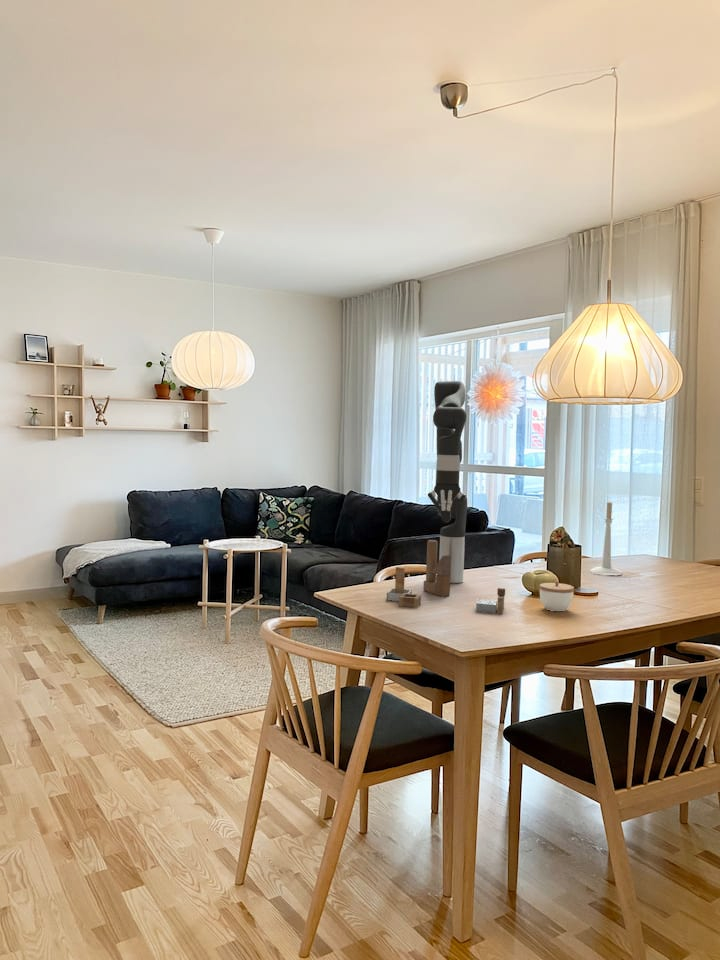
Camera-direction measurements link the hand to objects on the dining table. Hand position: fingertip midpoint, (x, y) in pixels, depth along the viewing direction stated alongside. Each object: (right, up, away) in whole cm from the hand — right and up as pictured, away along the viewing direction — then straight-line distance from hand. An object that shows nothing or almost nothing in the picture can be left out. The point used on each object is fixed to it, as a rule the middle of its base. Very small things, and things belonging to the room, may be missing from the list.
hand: (445, 522), depth 243 cm
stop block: (+16, -28, -7) cm, 33 cm away
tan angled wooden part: (-2, -26, +16) cm, 31 cm away
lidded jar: (+35, -28, -3) cm, 45 cm away
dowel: (-15, -25, +6) cm, 30 cm away
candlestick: (+74, -25, +67) cm, 103 cm away
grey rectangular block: (+12, -28, -7) cm, 31 cm away
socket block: (-12, -27, -3) cm, 29 cm away
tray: (-15, -26, +6) cm, 30 cm away
